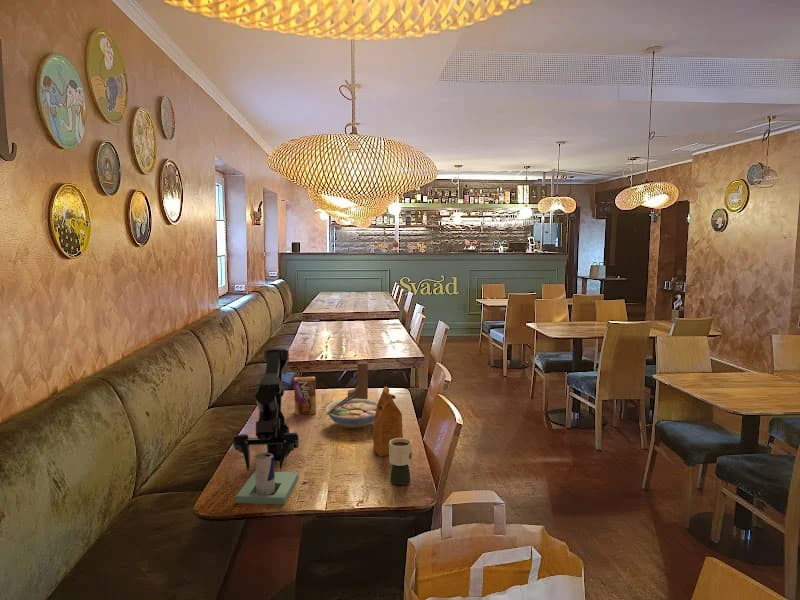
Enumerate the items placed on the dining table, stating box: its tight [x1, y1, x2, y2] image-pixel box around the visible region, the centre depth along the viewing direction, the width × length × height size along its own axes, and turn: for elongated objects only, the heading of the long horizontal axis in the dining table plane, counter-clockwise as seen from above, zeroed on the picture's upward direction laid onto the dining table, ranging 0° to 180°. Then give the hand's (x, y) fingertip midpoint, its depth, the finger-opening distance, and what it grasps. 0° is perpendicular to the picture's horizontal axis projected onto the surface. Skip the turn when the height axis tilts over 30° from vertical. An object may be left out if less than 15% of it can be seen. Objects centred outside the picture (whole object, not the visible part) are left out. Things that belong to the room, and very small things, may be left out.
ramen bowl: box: [325, 394, 378, 430], centre depth 214 cm, size 25×23×8 cm
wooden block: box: [347, 361, 369, 400], centre depth 243 cm, size 9×4×18 cm, turn 96°
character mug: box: [388, 437, 413, 485], centre depth 166 cm, size 11×7×13 cm, turn 10°
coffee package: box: [372, 385, 404, 457], centre depth 189 cm, size 10×12×22 cm
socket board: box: [235, 470, 299, 505], centre depth 161 cm, size 16×14×2 cm
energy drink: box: [255, 452, 276, 495], centre depth 158 cm, size 5×5×12 cm
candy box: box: [293, 376, 317, 416], centre depth 228 cm, size 9×4×15 cm, turn 99°
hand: (264, 469), depth 156 cm, fingers open, 9 cm apart
